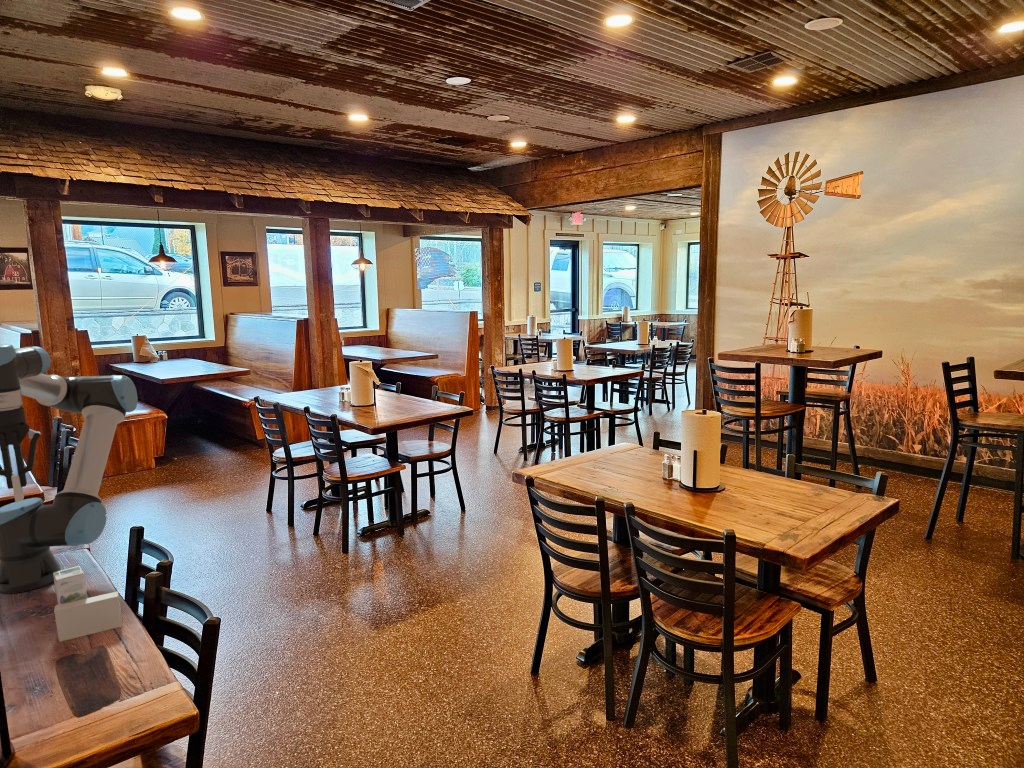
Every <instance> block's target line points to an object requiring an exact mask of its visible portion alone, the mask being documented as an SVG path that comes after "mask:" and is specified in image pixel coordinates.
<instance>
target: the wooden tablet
mask: <svg viewBox="0 0 1024 768" xmlns="http://www.w3.org/2000/svg"><path fill="white" fill-rule="evenodd" d="M113 664H114V663H113V660H112V658H111V656H110V653H109V651H108V649H107V647H106V646H105V645H103V644H100V645H97V646H95V647H93V648H91V649H89V650H88V651H87V652H86V653H73V654H70V655H69V654H68V655H65V656H62V657H60V658H57V660H56V662H55V669H56V674H57V678H58V682H59V685H60V687H61V689H62V692H63V694H64V696H65V699H66V701H67V704H68V706H69V708H70V710H71V712H72V714H74V715H75V716H76V717H82V716H85V715H88V714H91V713H95V712H98V711H101V710H102V709H104V708H106V707H108V706H110V705H112V704H114V703H115V702H117V701H120V699H121V695H122V689H121V684H120V682H119V679H118V676H117V674H116V671H115V667H114V665H113Z"/></svg>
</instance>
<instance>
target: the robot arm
mask: <svg viewBox="0 0 1024 768" xmlns="http://www.w3.org/2000/svg"><path fill="white" fill-rule="evenodd" d="M51 362H52V361H51V357H50V354H49V353H48V351H46V350H45V349H44V348H42V347H40V346H34V345H33V346H24V347H19V348H18V347H17V348H15V347H14V345H12V344H8V343H0V453H1V458H2V464H3V467H2V465H1V464H0V476H3V477H5V480H6V486H7V488H8V490H10V489H12V490H13V495H14V496H13V497H14V502H11V503H8V504H6V505H5V504H4V505H3V506H1V507H0V593H2V594H18V592H20V593H24V591H26V592H29V591H28V590H30V591H33V590H32V589H34V590H37V589H40V588H43V587H46V586H47V584H48V585H50V584H51V583H54V576H53V573H54V572H57V571H61V570H62V569H61V565H60V563H59V562H58V560H57V559H56V557H55V556H54V554H53V551H51V548H50V547H68V546H69V547H70V546H71V547H78V546H83V545H89V544H91V543H93V542H94V541H96V540H98V538H99V537H100V536H101V535H102V533H103V531H104V529H105V526H106V524H107V516H106V515H108V514H107V508H106V507H105V505H104V504H102V503H103V500H102V498H101V497H100V496H99V490H100V487H101V485H102V480H103V476H104V472H105V471H106V466H107V462H108V459H109V455H110V451H111V448H112V444H113V440H114V438H115V433H116V430H117V428H118V427H117V426H118V424H119V425H120V424H121V423H122V422H123V421H125V418H126V415H127V413H132V412H134V411H135V410H136V409H137V405H138V401H139V400H138V399H139V397H138V393H137V387H136V385H135V384H134V381H132V379H131V378H130V377H128V376H126V375H123V374H122V375H117V374H116V375H115V374H112V375H89V376H88V375H87V376H85V375H83V376H79V375H78V376H61V375H57V374H45V373H46V372H47V371H48V370H49V369H50V367H51ZM23 396H25V397H28V398H30V399H35V400H36V401H37V403H38V404H40V405H42V406H45V407H48V408H49V407H50V408H53V409H55V410H58V411H59V410H60V411H63V412H69V413H75V414H81V415H82V416H83V417H84V421H83V424H82V428H81V431H80V435H79V438H78V441H77V445H76V448H75V451H74V454H73V457H72V459H71V464H70V468H69V470H68V474H67V477H66V480H65V485H64V487H63V489H62V490H61V491H59V492H58V493H55V496H54V498H53V502H52V504H44V500H43V499H42V498H41V497H31V498H26V499H24V498H25V494H24V490H23V487H26V486H27V484H28V483H27V482H28V481H27V476H26V474H27V473H29V472H32V471H33V469H34V465H35V459H36V458H35V457H36V451H37V445H38V440H39V438H40V437H41V435H42V432H41V431H39V430H37V431H36V430H34V429H31V428H30V426H29V425H28V423H27V420H26V414H25V408H24V407H23V406H22V405H23V404H24V400H23ZM27 434H28V439H30V442H29V448H28V454H27V455H28V456H27V462H26V466H25V460H24V455H23V449H22V448H23V447H22V442H23V441H24V439H25V438H26V436H27ZM10 446H13V447H12V448H13V451H14V456H15V457H14V458H15V463H16V470H17V473H13V472H14V471H13V467H12V460H11V453H10V449H9V448H10ZM39 587H40V588H39ZM36 588H37V589H36Z"/></svg>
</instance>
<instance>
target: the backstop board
mask: <svg viewBox="0 0 1024 768" xmlns="http://www.w3.org/2000/svg"><path fill="white" fill-rule="evenodd" d="M119 595H120V594H119V591H118V590H117V591H114V592H113V591H112V592H108V593H105V594H99V595H96V596H91V597H87V598H86V599H82V600H77V601H73V602H68V603H64V604H59V605H58V604H56V605H55V606H54V609H53V610H54V618H55V623H56V630H57V631H56V632H57V637H58V642H59V643H60V642H65V641H69V640H73V639H76V638H81V637H85V636H89V635H92V634H96V633H101V632H105V631H109V630H113V629H117V628H121V627H123V617H122V610H121V603H120V596H119ZM120 626H121V627H120ZM116 627H117V628H116Z"/></svg>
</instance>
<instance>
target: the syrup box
mask: <svg viewBox="0 0 1024 768" xmlns="http://www.w3.org/2000/svg"><path fill="white" fill-rule="evenodd" d="M53 576H54V581H53V584H54V587H55V588H54V589H55V595H56V601H57V605H59V604H64V603H68V602H73V601H77V600H82V599H86V598H88V592H87V585H86V579H85V573H84V571H83V569H82V568H81V566H80V565H76V566H73V567H68V568H66V569H61V571H57V572H54V573H53Z"/></svg>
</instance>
